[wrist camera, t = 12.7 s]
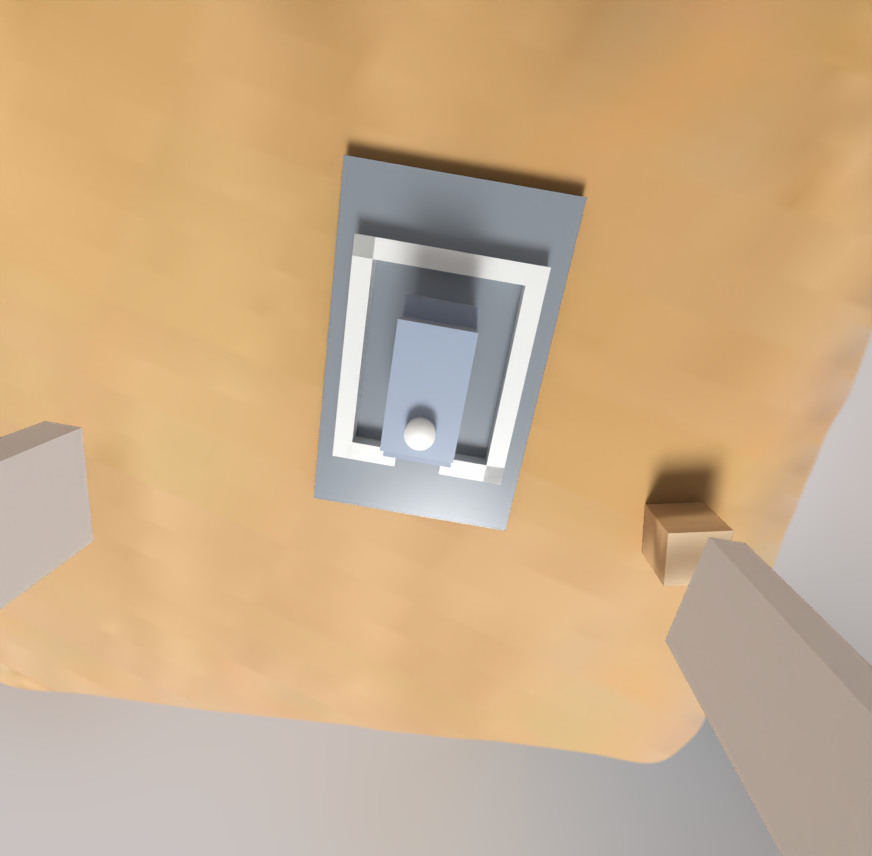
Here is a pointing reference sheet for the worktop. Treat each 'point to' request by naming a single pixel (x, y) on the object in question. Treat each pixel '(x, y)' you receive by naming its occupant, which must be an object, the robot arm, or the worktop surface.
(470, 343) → the servo block
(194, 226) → the worktop surface
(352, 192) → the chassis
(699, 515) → the oak block
